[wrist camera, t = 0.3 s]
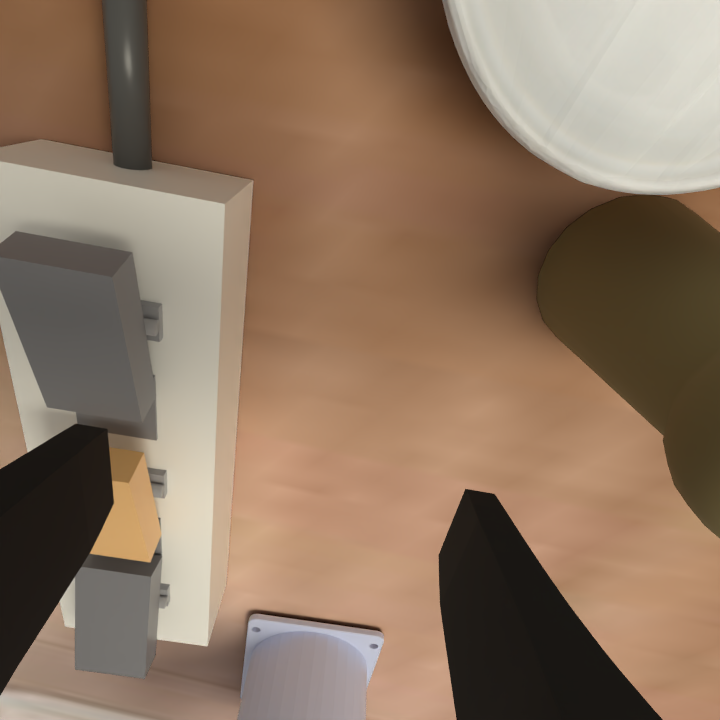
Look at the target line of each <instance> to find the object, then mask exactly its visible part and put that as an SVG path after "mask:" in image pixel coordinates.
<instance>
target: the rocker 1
mask: <svg viewBox="0 0 720 720" xmlns="http://www.w3.org/2000/svg"><path fill="white" fill-rule="evenodd" d="M0 290H1V293H2V295H3V298H4V300H5V303H6V305H7V308H8V310H9V313H10V315H11V318H12V321H13V323H14V326H15V328H16V331H17V333H18V336H19V338H20V341H21V343H22V346H23V348H24V351H25V353H26V356H27V358H28V361H29V363H30V366H31V368H32V371H33V374H34V376H35V379H36V381H37V384H38V386H39V389H40V391H41V394H42V396H43V399H44V401H45V404H46V406H47V408H53V409H60V410H66V411H72V412H78V413H84V414H90V415H96V416H102V417H109V418H115V419H121V420H127V421H133V422H139V423H142V422H143V421H144V419H145V417H146V415H147V413H148V411H149V409H150V407H151V405H152V403H153V402H154V400H155V398H156V390H155V384H154V378H153V372H152V366H151V360H150V354H149V348H148V342H147V336H146V330H145V324H144V318H143V312H142V306H141V300H140V294H139V288H138V282H137V276H136V270H135V264H134V258H133V252H128V251H123V250H117V249H112V248H106V247H101V246H95V245H90V244H85V243H79V242H74V241H68V240H63V239H57V238H52V237H46V236H41V235H35V234H30V233H24V232H19V231H15V232H14V233H13V234H11V235H10V236H9V237H8V238H6V239H5V240H4V241H3V242H1V243H0Z"/></svg>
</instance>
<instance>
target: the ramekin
mask: <svg viewBox="0 0 720 720" xmlns="http://www.w3.org/2000/svg"><path fill="white" fill-rule="evenodd" d="M442 1H443V6H444V10H445V14H446V18H447V22H448V26H449V29H450V32H451V35H452V38H453V41H454V44H455V47H456V49H457V52H458V54H459V57H460V59H461V62H462V64H463V66H464V68H465V70H466V72H467V74H468V76H469V78H470V80H471V82H472V84H473V86H474V87H475V89H476V91H477V92H478V94H479V96H480V97H481V99H482V101H483V102H484V104H485V105H486V106H487V108H488V109H489V110H490V112H491V113H492V114H493V116H494V117H495V118H496V119H497V121H498V122H499V123H500V124H501V125H502V126H503V127H504V128H505V129H506V130H507V132H508V133H509V134H510V135H511V136H512V137H513V138H514V139H516V140H517V141H518V142H519V143H520V144H521V145H522V146H523V147H525V148H526V149H527V150H528V151H530V152H531V153H532V154H534V155H535V156H537V157H538V158H539V159H541V160H543V161H544V162H546V163H548V164H549V165H551V166H553V167H554V168H556V169H558V170H559V171H561V172H563V173H565V174H567V175H569V176H571V177H572V178H574V179H576V180H578V181H581V182H583V183H585V184H590V185H594V186H597V187H601V188H604V189H609V190H614V191H619V192H626V193H633V194H646V195H670V194H682V193H690V192H698V191H705V190H710V189H715V188H718V187H720V0H442Z"/></svg>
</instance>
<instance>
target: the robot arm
mask: <svg viewBox="0 0 720 720" xmlns="http://www.w3.org/2000/svg"><path fill="white" fill-rule="evenodd" d="M113 504H114V497H113V485H112V474H111V463H110V451H109V440H108V429H106V428H100V427H94V426H88V425H82V424H74V425H73V426H71V427H69V428H67V429H66V430H64V431H62V432H61V433H59V434H57V435H56V436H54V437H52V438H51V439H49V440H47V441H46V442H44V443H42V444H41V445H39V446H38V447H36V448H34V449H33V450H31V451H29V452H28V453H26V454H25V455H23V456H21V457H20V458H18V459H16V460H15V461H13V462H12V463H10V464H8V465H7V466H5V467H3V468H1V469H0V695H1V693H2V692H3V690H4V688H5V687H6V685H7V683H8V682H9V680H10V678H11V676H12V675H13V673H14V671H15V670H16V668H17V666H18V665H19V663H20V662H21V660H22V659H23V657H24V656H25V654H26V652H27V651H28V649H29V648H30V646H31V645H32V643H33V642H34V640H35V638H36V637H37V635H38V634H39V632H40V631H41V629H42V628H43V626H44V624H45V623H46V621H47V620H48V618H49V617H50V615H51V614H52V612H53V610H54V609H55V607H56V606H57V604H58V603H59V601H60V600H61V598H62V596H63V595H64V593H65V592H66V590H67V589H68V587H69V585H70V584H71V582H72V581H73V579H74V578H75V576H76V574H77V573H78V571H79V570H80V568H81V567H82V565H83V563H84V562H85V560H86V558H87V557H88V555H89V554H90V552H91V550H92V548H93V546H94V544H95V542H96V540H97V538H98V536H99V534H100V532H101V530H102V528H103V526H104V524H105V522H106V519H107V517H108V515H109V513H110V511H111V509H112V507H113ZM439 587H440V607H441V615H442V622H443V629H444V636H445V643H446V650H447V657H448V664H449V670H450V677H451V684H452V691H453V698H454V704H455V711H456V718H457V720H662V718H661V717H660V716H659V715H658V714H657V713H656V712H655V711H654V710H653V708H652V707H651V706H650V705H649V704H648V703H647V701H646V700H645V699H644V698H643V697H642V696H641V694H640V693H639V692H638V691H637V690H636V689H635V687H634V686H633V685H632V684H631V683H630V682H629V680H628V679H627V678H626V677H625V676H624V675H623V673H622V672H621V671H620V670H619V669H618V667H617V666H616V665H615V664H614V663H613V661H612V660H611V659H610V658H609V656H608V655H607V654H606V653H605V651H604V650H603V649H602V648H601V646H600V645H599V644H598V642H597V641H596V640H595V639H594V637H593V636H592V635H591V633H590V632H589V631H588V629H587V628H586V627H585V626H584V624H583V623H582V622H581V620H580V619H579V618H578V616H577V615H576V614H575V612H574V611H573V610H572V608H571V607H570V606H569V604H568V603H567V601H566V600H565V599H564V597H563V596H562V594H561V593H560V592H559V590H558V589H557V587H556V586H555V584H554V583H553V582H552V580H551V579H550V577H549V576H548V574H547V573H546V571H545V570H544V569H543V567H542V566H541V564H540V563H539V561H538V560H537V558H536V557H535V555H534V554H533V552H532V551H531V549H530V548H529V546H528V545H527V543H526V542H525V540H524V538H523V537H522V535H521V534H520V532H519V531H518V529H517V528H516V526H515V525H514V523H513V522H512V520H511V518H510V517H509V515H508V514H507V512H506V511H505V509H504V508H503V506H502V505H501V503H500V502H499V500H498V499H497V497H496V496H495V494H492V493H486V492H480V491H474V490H468V489H465V491H464V494H463V496H462V499H461V501H460V504H459V506H458V509H457V511H456V514H455V516H454V519H453V521H452V524H451V526H450V528H449V531H448V533H447V536H446V538H445V541H444V543H443V546H442V548H441V551H440V553H439ZM383 643H384V635H383V633H382V632H380V631H376V630H369V629H362V628H355V627H348V626H341V625H334V624H327V623H320V622H313V621H306V620H299V619H292V618H285V617H278V616H271V615H264V614H253V615H251V616H250V618H249V621H248V629H247V638H246V647H245V657H244V666H243V675H242V684H241V693H240V698H241V704H240V708H239V713H238V717H237V720H366V690H367V687H368V684H369V682H370V679H371V676H372V673H373V670H374V668H375V665H376V662H377V659H378V657H379V654H380V651H381V648H382V645H383Z"/></svg>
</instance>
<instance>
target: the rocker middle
mask: <svg viewBox="0 0 720 720" xmlns="http://www.w3.org/2000/svg"><path fill="white" fill-rule="evenodd" d="M109 451H110V463H111V474H112V485H113V497H114V504H113V507H112V509H111V511H110V513H109V515H108V517H107V519H106V522H105V524H104V526H103V528H102V530H101V532H100V534H99V536H98V538H97V540H96V542H95V544H94V546H93V548H92V550H91V552H90V554H96V555H102V556H109V557H116V558H123V559H129V560H136V561H143V562H151V559H152V557H153V554H154V552H155V549H156V547H157V544H158V542H159V539H160V537H161V529H160V524H159V520H158V515H157V510H156V506H155V501H154V496H153V492H152V487H151V483H150V478H149V473H148V469H147V464H146V459H145V455H144V453H143V452H137V451H131V450H125V449H118V448H112V447H109Z"/></svg>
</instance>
